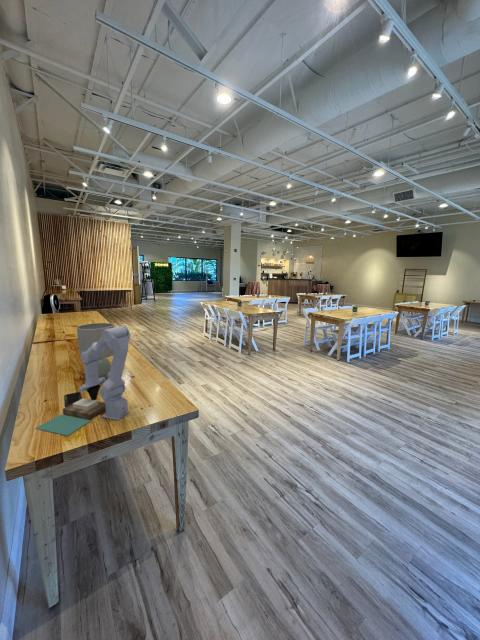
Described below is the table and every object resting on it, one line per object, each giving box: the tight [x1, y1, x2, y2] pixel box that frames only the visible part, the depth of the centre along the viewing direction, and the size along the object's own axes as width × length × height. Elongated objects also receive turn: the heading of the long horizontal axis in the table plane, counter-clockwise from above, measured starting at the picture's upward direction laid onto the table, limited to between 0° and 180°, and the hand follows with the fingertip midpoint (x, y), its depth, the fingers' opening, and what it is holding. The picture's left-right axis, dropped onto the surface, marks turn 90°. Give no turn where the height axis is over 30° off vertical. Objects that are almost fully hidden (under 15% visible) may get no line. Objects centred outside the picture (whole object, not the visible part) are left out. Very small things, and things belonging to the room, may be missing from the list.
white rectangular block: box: [73, 397, 99, 410], centre depth 129 cm, size 9×6×2 cm, turn 74°
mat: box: [35, 414, 92, 437], centre depth 119 cm, size 18×12×1 cm, turn 74°
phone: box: [63, 391, 83, 408], centre depth 142 cm, size 8×1×15 cm
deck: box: [62, 401, 106, 421], centre depth 130 cm, size 16×11×3 cm
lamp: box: [76, 322, 115, 385], centre depth 165 cm, size 20×20×35 cm
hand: (94, 399), depth 134 cm, fingers closed
